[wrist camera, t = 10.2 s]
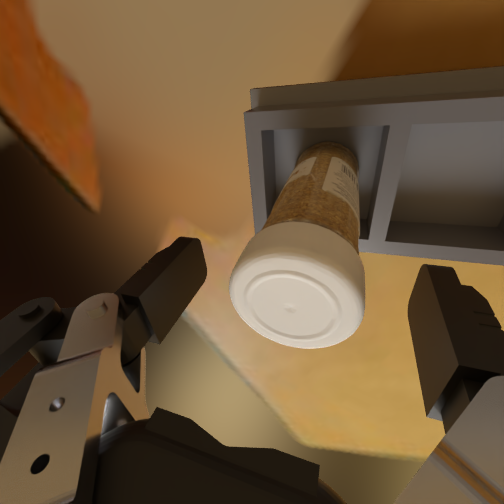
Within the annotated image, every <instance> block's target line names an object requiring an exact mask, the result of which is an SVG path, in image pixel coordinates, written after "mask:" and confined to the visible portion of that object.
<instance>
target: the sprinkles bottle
mask: <svg viewBox="0 0 504 504" xmlns="http://www.w3.org/2000/svg"><path fill="white" fill-rule="evenodd" d="M358 178H359V166H358V162H357V159H356V157H355V156H354V155H353V153H352V152H351V151H350V150H349V149H348V148H346V147H345V146H343V145H341V144H338V143H334V142H321V143H318V144H315V145H313V146H312V147H310V148H308V149H306V150H305V151H304V152H303V153H302V154H301V156H300V157H299V159H298V160H297V162H296V165H295V167H294V170H293V172H292V173H291V175H290V177H289V178H288V180H287V182H286V184H285V186H284V188H283V189H282V191H281V193H280V195H279V197H278V199H277V200H276V202H275V204H274V206H273V209H272V211H271V214H270V215H269V217H268V219H267V221H266V223H265V225H264V226H263V228H262V230H261V231H260V232H258V233H257V234H256V235H255V236H254V237H253V238H252V239H251V240H250V241H249V242H248V244H247V246H246V247H245V249H244V251H243V252H242V254H241V256H240V258H239V259H238V261H237V263H236V265H235V267H234V269H233V271H232V274H231V277H230V282H229V293H230V298H231V301H232V303H233V306H234V308H235V309H236V311H237V312H238V314H239V316H240V317H241V318H242V319H243V320H244V321H245V323H247V324H248V325H249V326H250V327H251V328H252V329H254V330H255V331H256V332H258V333H259V334H261V335H262V336H264V337H266V338H268V339H270V340H272V341H275V342H277V343H280V344H284V345H287V346H292V347H297V348H306V349H312V348H323V347H329V346H332V345H335V344H338V343H340V342H342V341H343V340H345V339H347V338H348V337H350V336H351V335H352V334H353V333H354V332H355V331H356V329H357V328H358V327H359V325H360V323H361V321H362V319H363V316H364V310H365V273H364V267H363V264H362V261H361V259H360V257H359V249H358V243H359V242H358V240H359V236H360V215H359V185H358Z"/></svg>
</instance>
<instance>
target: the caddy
mask: <svg viewBox="0 0 504 504" xmlns="http://www.w3.org/2000/svg"><path fill="white" fill-rule="evenodd" d="M250 95H251V108H252V109H251V110H248V111H246V112H244V121H245V131H246V141H247V152H248V164H249V174H250V184H251V195H252V206H253V216H254V227H255V235H256V234H257V233H258V232H260V231H261V230H262V228H263V226H264V225H265V223H266V221H267V219H268V217H269V215H270V214H271V211H272V209H273V206H274V204H275V202H276V200H277V199H278V197H279V195H280V193H281V191H282V189H283V188H284V186H285V184H286V182H287V180H288V178H289V177H290V175H291V173H292V172H293V170H294V167H295V165H296V162H297V160H298V159H299V157H300V156H301V154H302V153H303V152H304V151H305V150H306V149H308V148H310V147H312V146H313V145H315V144H318V143H321V142H334V143H338V144H341V145H343V146H345V147H346V148H348V149H349V150H350V151H351V152H352V153H353V155H354V156H355V157H356V159H357V162H358V166H359V178H358V185H359V215H360V236H359V240H358V242H359V243H358V249H359V252H369V253H379V254H390V255H400V256H410V257H421V258H431V259H441V260H452V261H462V262H472V263H482V264H493V265H503V266H504V66H497V67H486V68H475V69H464V70H452V71H441V72H430V73H419V74H408V75H397V76H386V77H375V78H364V79H352V80H341V81H330V82H319V83H308V84H297V85H286V86H276V87H264V88H254V89H250Z"/></svg>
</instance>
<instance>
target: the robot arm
mask: <svg viewBox="0 0 504 504" xmlns="http://www.w3.org/2000/svg"><path fill="white" fill-rule="evenodd" d="M206 276H207V267H206V262H205V258H204V254H203V249H202V245H201V242H200V240H199V239H198V238H189V237H179V238H178V239H176V240H175V241H174V242H173V243H172V244H171V245H170V246H169V247H167V248H165V249H163V250H162V251H160V252H158V253H156V254H155V255H154V256H153V257H152V258H151V259H150V260H149V261H148V263H146V264H145V265H144V266H143V267H142V268H141V269H140V270H138V271H137V272H136V273H135V274H134V275H133V276H132V277H131V278H130V279H129V280H128V281H126V282H125V283H124V284H123V285H122V286H121V287H120V288H119V289H118V290H117V291H116V292H115V293H114V294H112V293H102V294H98V295H95V296H93V297H90V298H88V299H87V300H85V301H84V302H82V303H81V304H80V305H79V306H78V307H75V308H63V309H60V308H59V306H58V305H57V303H56V302H55V301H54V299H52V298H49V297H43V298H38V299H34V300H31V301H29V302H27V303H25V304H23V305H21V306H19V307H18V308H17V309H15V310H14V311H12V312H11V313H10V314H9V315H7V316H6V317H5V318H3V319H2V320H1V321H0V377H1V376H2V375H3V374H4V373H5V372H6V371H7V370H8V369H9V368H10V367H11V366H12V365H14V364H15V363H16V362H17V361H18V360H19V359H20V358H21V357H22V356H23V355H24V354H26V352H28V351H29V352H30V353H31V354H32V355H33V356H34V357H35V358H36V359H37V360H38V361H39V363H38V364H37V365H36V366H35V367H34V368H33V369H32V370H31V371H30V372H29V373H28V374H27V375H26V376H25V377H24V378H23V379H22V380H21V381H20V382H19V383H18V384H17V385H16V386H15V387H14V388H13V389H12V390H11V391H10V392H9V393H8V394H6V395H5V396H4V398H2V399H1V400H0V504H347V503H346V502H345V501H344V500H343V499H342V498H341V496H339V494H337V493H336V492H335V491H334V490H333V489H332V488H331V487H330V486H329V485H327V484H326V483H325V482H323V481H322V480H321V479H319V478H318V477H319V466H320V465H318V464H315V463H312V462H309V461H306V460H304V459H301V458H298V457H295V456H292V455H290V454H287V453H284V452H281V451H279V450H276V449H271V448H247V447H228V446H225V445H223V444H221V443H220V442H219V441H218V440H216V439H215V438H214V437H213V436H211V435H210V434H209V433H208V432H206V431H205V430H204V429H203V428H201V427H200V426H198V424H196V423H195V422H194V421H193V420H191V419H189V418H186V417H184V416H181V415H178V414H175V413H172V412H169V411H167V410H164V409H161V408H158V407H157V408H156V409H155V411H154V413H153V414H152V416H151V418H149V413H148V409H147V406H146V401H145V358H146V353H145V349H144V346H145V344H146V343H147V342H148V341H149V342H153V343H157V344H161V342H162V341H163V339H164V338H165V337H166V335H167V334H168V332H169V331H170V330H171V328H172V327H173V325H174V324H175V323H176V321H177V320H178V318H179V317H180V316H181V314H182V313H183V311H184V310H185V309H186V307H187V306H188V304H189V303H190V302H191V300H192V299H193V297H194V296H195V294H196V293H197V292H198V290H199V289H200V287H201V286H202V285H203V283H204V282H205V279H206ZM494 315H495V314H494V312H493V310H492V308H491V306H490V305H489V303H488V301H487V299H486V298H484V297H483V296H482V295H481V294H480V293H479V292H478V291H477V290H475V289H474V288H473V287H472V286H466V285H461V283H460V281H459V279H458V277H457V274H456V272H455V270H454V269H453V268H452V267H446V266H437V265H428V264H423V265H422V266H421V268H420V270H419V273H418V276H417V279H416V282H415V285H414V288H413V291H412V293H411V296H410V299H409V304H408V320H409V325H410V330H411V336H412V341H413V347H414V352H415V357H416V363H417V368H418V373H419V379H420V384H421V390H422V395H423V400H424V406H425V411H426V416H427V417H429V418H432V419H436V420H440V421H443V425H444V429H445V434H446V435H445V436H444V437H443V439H442V440H441V441H440V443H439V444H438V445H437V447H436V448H435V449H434V450H433V452H432V453H431V454H430V456H429V457H428V458H427V460H426V461H425V462H424V464H423V465H422V466H421V468H420V469H419V470H418V471H417V473H416V474H415V475H414V477H413V478H412V479H411V481H410V482H409V483H408V484H407V486H406V487H405V489H404V490H403V491H402V492H401V494H400V495H399V496H398V498H397V499H396V500H395V502H394V503H393V504H504V331H503V330H501V325H500V323H499V321H498V320H497V318H496V317H494Z"/></svg>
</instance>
